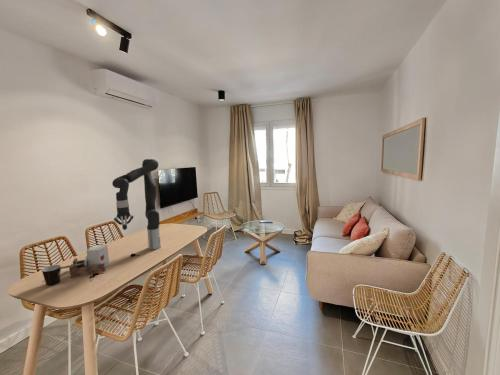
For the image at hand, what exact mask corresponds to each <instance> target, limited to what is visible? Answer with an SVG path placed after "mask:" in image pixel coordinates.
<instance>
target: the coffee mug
mask: <svg viewBox="0 0 500 375" xmlns="http://www.w3.org/2000/svg"><path fill="white" fill-rule="evenodd" d="M61 267H62V265H61V264H51V265H49V266H46V267H44V268H42V269H41V272H42V276H43V279H44V282H45V285H46V287H53V286H56V285H58V284H60V282H61V275H62V274H61V272H62V271H61V270H62V269H61Z"/></svg>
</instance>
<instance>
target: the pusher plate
mask: <svg viewBox="0 0 500 375" xmlns="http://www.w3.org/2000/svg"><path fill="white" fill-rule="evenodd" d="M84 260H85V261H84V263H80V264H75V265H74V266H79V265H84V266H85V267H88V260H87V255H86V257H85V259H84ZM70 266H71V264H70V265H65V266H61V270H63V269H68V268H70Z"/></svg>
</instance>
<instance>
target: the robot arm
mask: <svg viewBox="0 0 500 375" xmlns="http://www.w3.org/2000/svg"><path fill="white" fill-rule="evenodd" d="M158 168H159V162H158V161H157V160H156V159H153V158H149V159H148V158H147V159H144V160H143V161H142V165H141V167H138V168H136V169H133V170H131V171H129V172H127V173H125V174H122V175H121V176H118V177H116V178H114V179H113V180H112V187H113V188H114V189H119V191H117V192H116V194H115V197H116V198H115V199H116V201H115V203H116V206H115V207H116V213H117V214H116V216H115V217H114V218H113V221H114V222H116V223H117V224H118V225H121V226H122V230H123V231H126V230H127V229H128V225H129V224H130V223H131V221H132V220H133V219H134V215H132V214H131V213H130V205H129V197H128V191H129V187H130V184H131V183H133V182H135V181H136V180H138V179H139V178H141V177H143V183H144V198H145V214H144V215H145V218H146V219H147V225H146V230H147V243H148V246H147V247H148V250H150V251H151V250H152V251H153V250H157V249H160V248H161V247H162V245H161V236H160V213H159V212H158V211H157V209H156V199H157V195H158V194H157V192H158V191H157V189H158V188H157V184H156V182H155V181H154V178H153V176H152V172H154V171H155V170H158Z"/></svg>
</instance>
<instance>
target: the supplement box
mask: <svg viewBox="0 0 500 375" xmlns="http://www.w3.org/2000/svg"><path fill="white" fill-rule="evenodd" d="M86 256H87V260H88V266H93V265H98V264H103V263H104V264H105V268H107V267H108V266H110V259H109V258H110V257H109V248H108V245H107V244H106V245H104V244H96V245H94V246H91V247H90V248H88V249H86Z"/></svg>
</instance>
